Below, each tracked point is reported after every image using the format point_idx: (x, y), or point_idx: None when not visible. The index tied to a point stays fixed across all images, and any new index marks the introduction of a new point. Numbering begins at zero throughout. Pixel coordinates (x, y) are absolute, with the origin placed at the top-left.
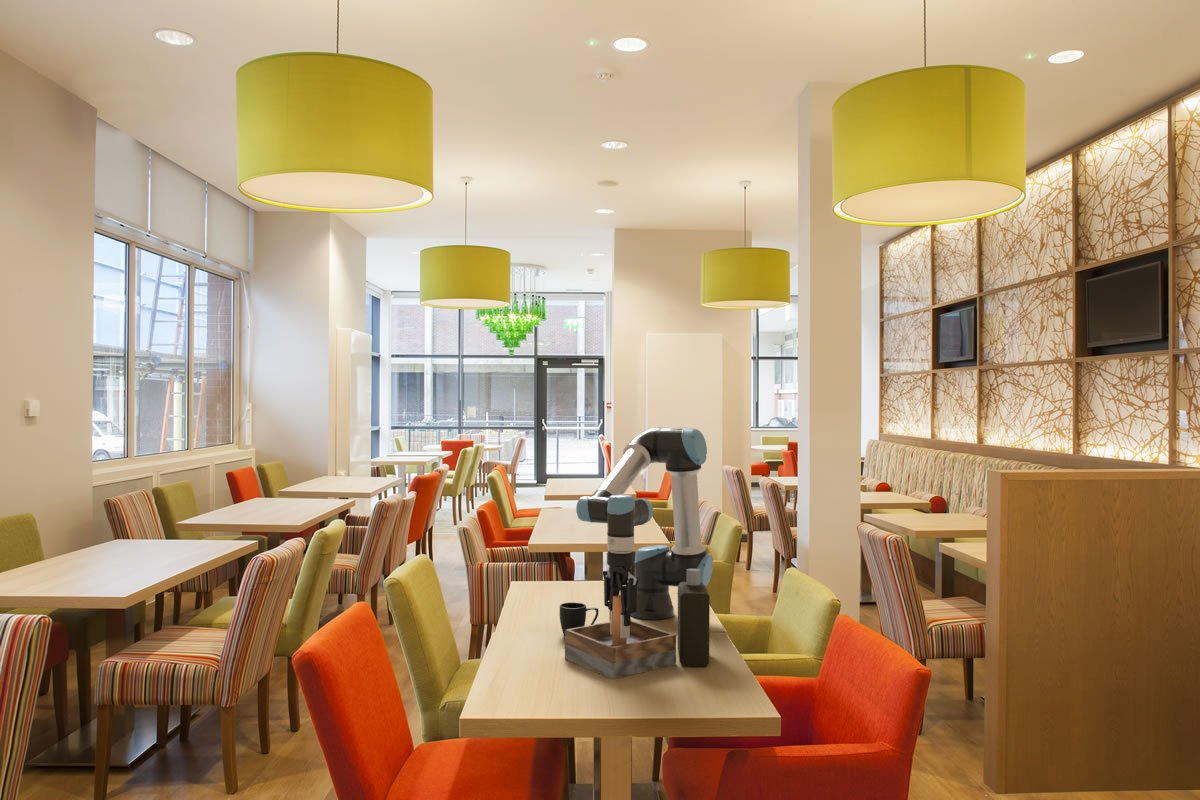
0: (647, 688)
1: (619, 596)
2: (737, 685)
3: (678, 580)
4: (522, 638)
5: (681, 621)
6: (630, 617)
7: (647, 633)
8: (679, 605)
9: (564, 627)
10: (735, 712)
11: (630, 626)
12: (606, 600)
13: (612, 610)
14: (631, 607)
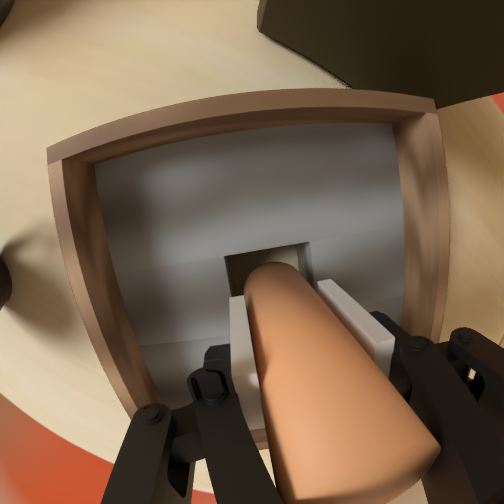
0: (456, 300)
1: (363, 497)
2: (500, 129)
3: None
4: (13, 380)
5: (499, 92)
6: (406, 333)
7: (252, 121)
8: (501, 24)
9: None
10: None
11: (108, 150)
12: (188, 487)
13: (248, 419)
14: (481, 381)
